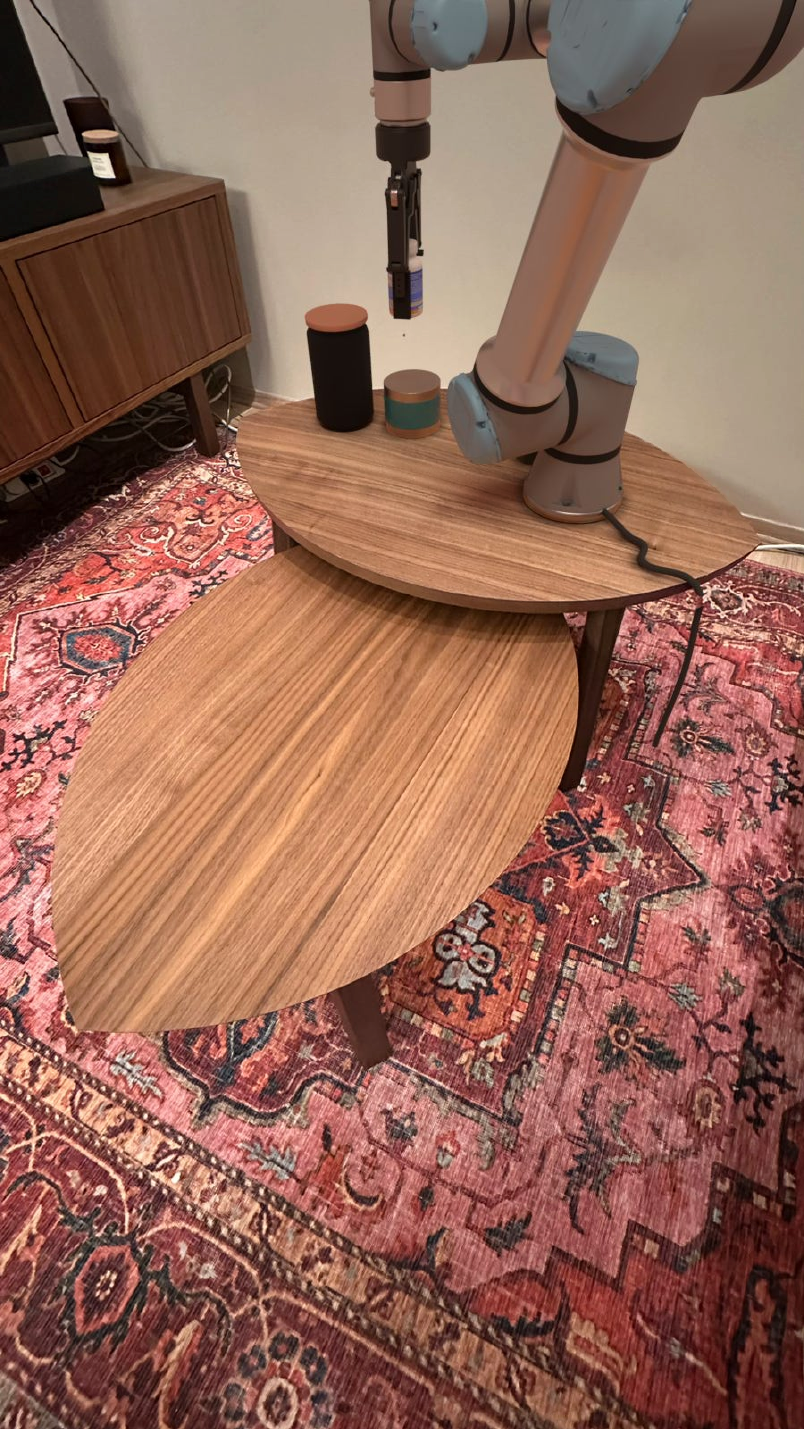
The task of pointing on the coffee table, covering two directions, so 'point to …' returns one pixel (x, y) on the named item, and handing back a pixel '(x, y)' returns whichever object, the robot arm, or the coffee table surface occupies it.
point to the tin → (412, 403)
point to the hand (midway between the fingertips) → (406, 311)
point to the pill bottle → (416, 281)
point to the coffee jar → (340, 366)
